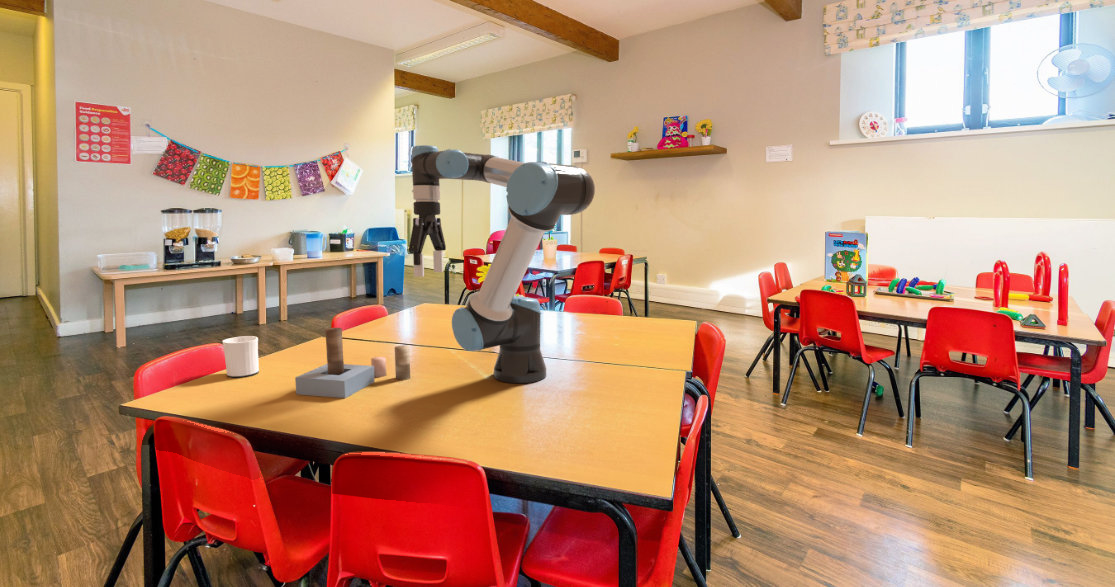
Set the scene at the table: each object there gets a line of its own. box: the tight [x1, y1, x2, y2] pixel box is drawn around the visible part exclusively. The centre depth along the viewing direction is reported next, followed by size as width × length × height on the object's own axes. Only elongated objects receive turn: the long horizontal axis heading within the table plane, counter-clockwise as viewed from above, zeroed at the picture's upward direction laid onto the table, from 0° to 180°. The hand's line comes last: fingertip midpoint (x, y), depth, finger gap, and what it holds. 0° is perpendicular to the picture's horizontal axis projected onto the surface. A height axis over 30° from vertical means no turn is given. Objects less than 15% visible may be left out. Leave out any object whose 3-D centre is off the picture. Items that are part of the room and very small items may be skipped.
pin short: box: [370, 356, 387, 378], centre depth 157 cm, size 4×4×5 cm
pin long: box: [324, 327, 345, 375], centre depth 144 cm, size 4×4×16 cm
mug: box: [222, 335, 260, 379], centre depth 157 cm, size 11×9×10 cm
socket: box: [294, 363, 375, 399], centre depth 145 cm, size 14×14×4 cm
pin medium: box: [394, 345, 411, 381], centre depth 154 cm, size 4×4×9 cm
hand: (429, 274), depth 160 cm, fingers open, 13 cm apart
